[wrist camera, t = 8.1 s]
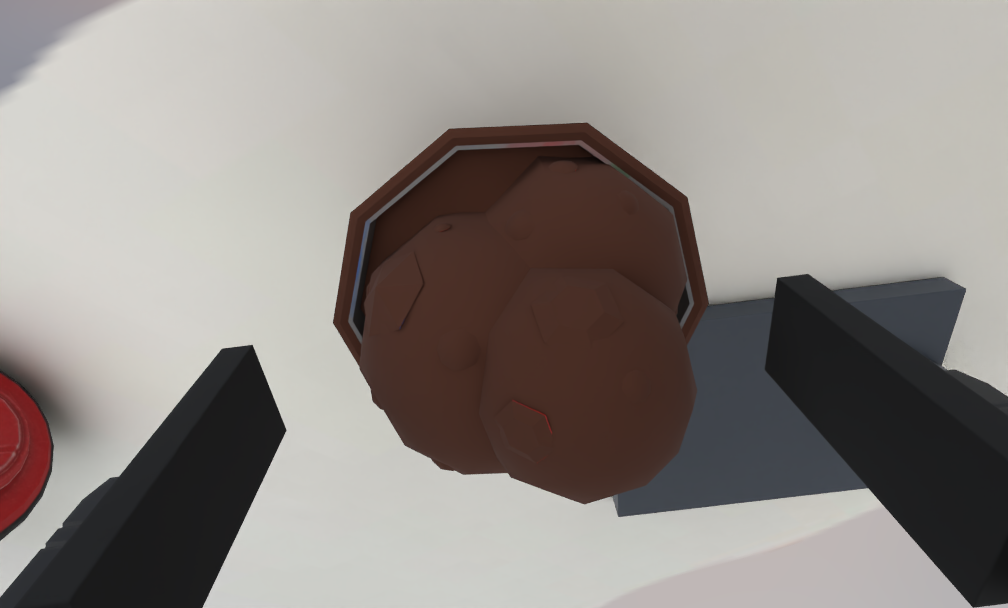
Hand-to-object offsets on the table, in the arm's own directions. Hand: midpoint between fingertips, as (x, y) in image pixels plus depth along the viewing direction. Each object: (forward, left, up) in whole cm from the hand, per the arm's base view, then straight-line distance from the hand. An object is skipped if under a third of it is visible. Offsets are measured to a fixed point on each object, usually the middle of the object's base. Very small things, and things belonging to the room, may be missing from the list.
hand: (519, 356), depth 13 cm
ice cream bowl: (0, 0, -12) cm, 12 cm away
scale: (-13, +13, -12) cm, 22 cm away
